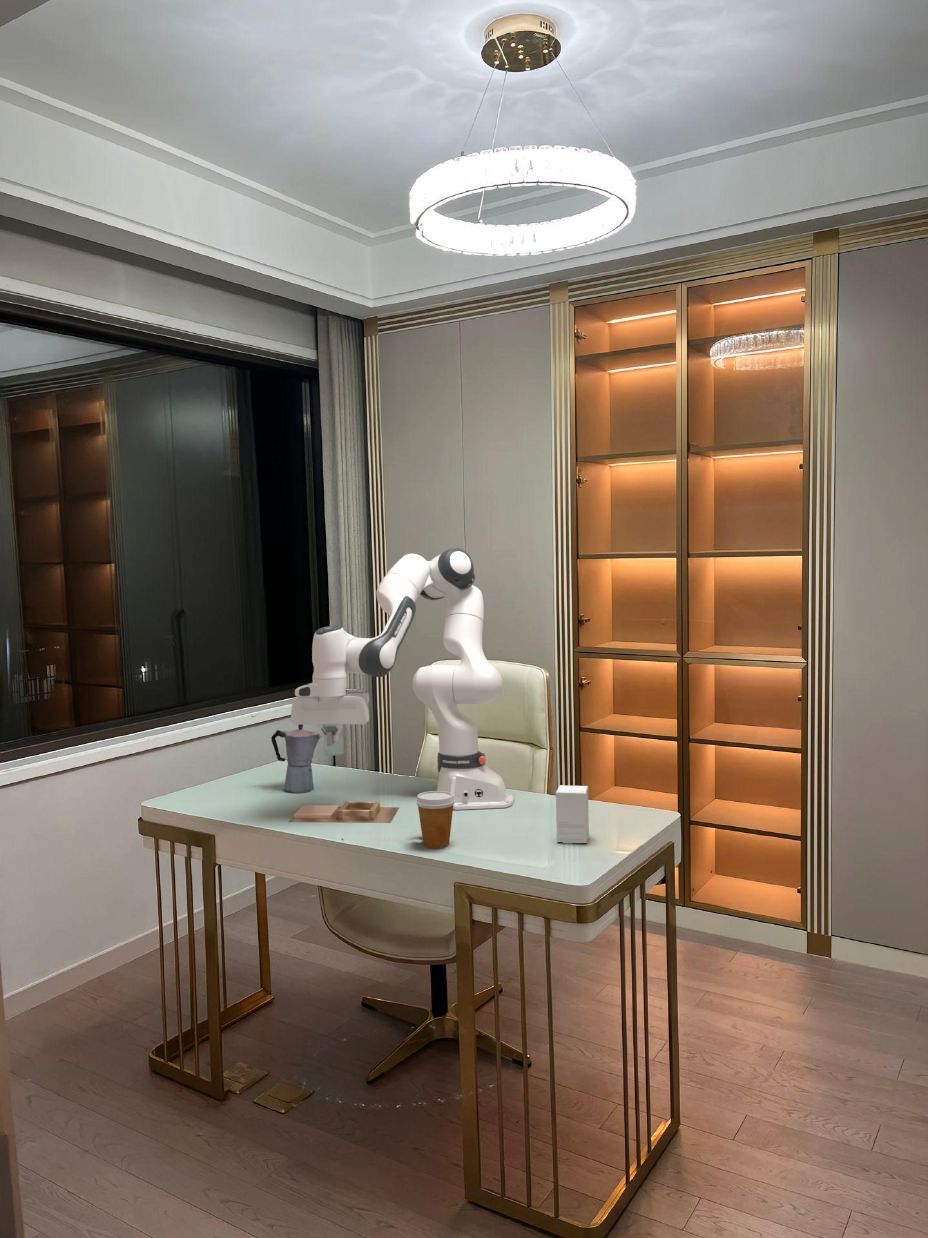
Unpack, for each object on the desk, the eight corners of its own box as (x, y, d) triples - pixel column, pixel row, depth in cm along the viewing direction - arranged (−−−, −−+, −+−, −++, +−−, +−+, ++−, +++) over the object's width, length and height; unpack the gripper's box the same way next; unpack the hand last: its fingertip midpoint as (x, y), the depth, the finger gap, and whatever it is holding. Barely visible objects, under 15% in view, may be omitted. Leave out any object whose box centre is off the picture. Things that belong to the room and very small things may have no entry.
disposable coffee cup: (459, 839, 231) (458, 791, 230) (452, 851, 222) (451, 801, 221) (421, 837, 233) (420, 790, 232) (412, 849, 223) (411, 799, 222)
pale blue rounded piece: (338, 757, 243) (338, 728, 243) (319, 757, 244) (319, 728, 244) (345, 752, 251) (344, 724, 251) (327, 752, 252) (326, 724, 252)
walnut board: (399, 811, 258) (399, 798, 257) (390, 826, 243) (390, 813, 242) (303, 810, 260) (302, 797, 260) (288, 825, 245) (287, 812, 245)
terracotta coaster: (339, 808, 258) (339, 805, 257) (330, 818, 248) (330, 815, 248) (303, 808, 258) (303, 805, 258) (293, 818, 248) (293, 815, 248)
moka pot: (320, 793, 278) (318, 726, 277) (268, 794, 278) (266, 727, 277) (325, 786, 288) (324, 721, 286) (275, 786, 288) (273, 721, 287)
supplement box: (589, 836, 232) (589, 785, 231) (586, 845, 225) (586, 793, 224) (559, 834, 234) (559, 784, 233) (555, 843, 227) (555, 791, 226)
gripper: (371, 687, 247) (372, 739, 248) (295, 687, 249) (296, 738, 250) (367, 690, 241) (367, 743, 242) (288, 690, 243) (289, 743, 243)
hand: (330, 741), depth 246 cm, fingers closed on pale blue rounded piece
